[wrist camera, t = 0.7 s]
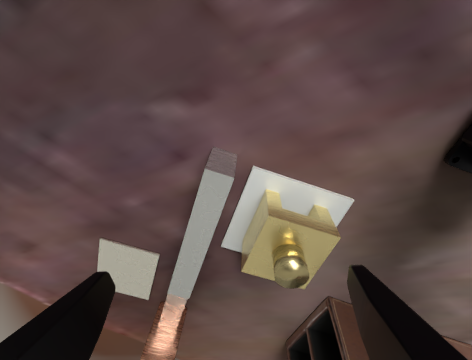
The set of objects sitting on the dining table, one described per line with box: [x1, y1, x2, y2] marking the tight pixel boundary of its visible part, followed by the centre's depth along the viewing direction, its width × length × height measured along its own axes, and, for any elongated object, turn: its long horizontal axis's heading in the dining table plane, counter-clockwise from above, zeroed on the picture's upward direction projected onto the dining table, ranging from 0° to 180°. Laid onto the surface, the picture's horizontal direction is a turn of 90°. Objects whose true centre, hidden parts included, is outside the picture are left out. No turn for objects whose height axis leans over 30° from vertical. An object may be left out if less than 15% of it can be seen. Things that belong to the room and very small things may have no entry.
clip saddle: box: [241, 189, 341, 289], centre depth 20 cm, size 6×6×6 cm
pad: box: [221, 166, 354, 253], centre depth 23 cm, size 9×9×1 cm
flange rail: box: [97, 147, 237, 360], centre depth 22 cm, size 11×22×6 cm, turn 162°
